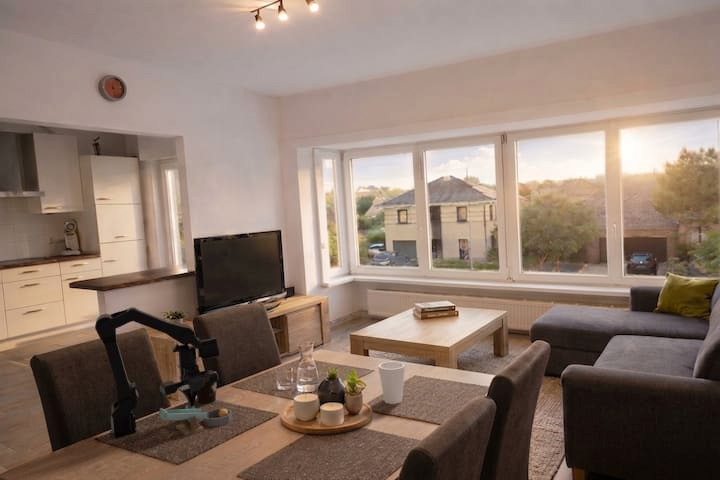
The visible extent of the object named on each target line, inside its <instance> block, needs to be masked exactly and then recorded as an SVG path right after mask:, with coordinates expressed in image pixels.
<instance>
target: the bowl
mask: <svg viewBox="0 0 720 480" xmlns="http://www.w3.org/2000/svg"><path fill="white" fill-rule="evenodd" d="M221 409H222V408H215V409H212V410H208V411H206V413H207V417H206V419H202V420H203V424H204V425H206V426H207V427H221V426H223V425H226V424H229V423H230V422H231V421H232V420H233V411H232V410H231V409H229V408H225V409H226V410H227V411H228V415H227V416H224V417H221V418H220V417H219V414H218V413H219V411H220V410H221Z"/></svg>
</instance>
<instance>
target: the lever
mask: <svg viewBox="0 0 720 480" xmlns="http://www.w3.org/2000/svg"><path fill="white" fill-rule="evenodd" d="M158 413H159V419H162V420H163V421H178V420H180V421H183V420H184V419H189V420H190V417H193V416H195V417H196V420H203V419H206V417H207V412H203V409H202V408H196V407H195V405H194V406H192V407H191V406H190V405H185V408H183V409H182V408H178V409H177V408H176V409H174V408H173V409H164V408H163V407H159V412H158Z"/></svg>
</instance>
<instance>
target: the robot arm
mask: <svg viewBox="0 0 720 480" xmlns="http://www.w3.org/2000/svg"><path fill="white" fill-rule="evenodd" d="M131 322H132V323H133V322H134V323H136V324H139V325H141V326H142V325H143V326H145V327H148V328H150V329H152V330H155V331H158V332H160V333H163V334H166V335H167V336H169V337H170V338H172V339H173V340H174V341H176V342H178V343H180V344H181V345H180V344H178V343H176V342H175V344H174V346H173V347H172V348H171V350H172V353H178V365H177V366H178V369H179V375H180V376H179V380H180V381H178V382H174V381H173V380H169V381H164V382H161V384H160V385H159V391H160V393H162V394H163V395H164V396H168V395H172V394H176V392H177V391H179V392H181V393H183V395H184V397H185V398H186V400H187V402H188V404H189V406H191V407H192V406H195V402H196V399H197V392H198V390H199V389H200V388H202V387H204V383H205V382H207V381H209V382H210V383H212V382H216V383H217V382H218V381H219V374H218V373H217V371H214V370H212V369H210V370H208V369H207V370H200V366H199V364H198V361H197V358H200V359H201V360H202V361H204V360H208V359H215V358H220V350H219V349H220V348H219V346H218V342H217V338H216V337H211V338H208V339H202V340H201V339H200V338H199V337H198V336H196V332H195V330H194V329H193V327H192V326H191V325H188V324H186V323H185V324H184V323H180V322H173V321H169V320H166V319H164V318H162V317H161V318H160V317H158V316H156V315H152V314H150V313H148V312H146V311H143V310H139V308H137V307H133V306H132V307H129V308H126V309H124V310H119V311H117V312H114V313H104V314H101V315H99V316H98V317H97V319H96V320H95V324H94V325H95V326H94V328H95V329H94V330H95V332H97V335H98V337H99V339H100V340H101V342H102V344H103V345H104V347H105V348H104V349H105V351H106V354H107V358H108V361H109V364H110V369H111V371H112V372H111V373H112V375H113V379H114V381H115V384H116V398H117V400H116V401H115V402H113V404H112V405H111V415H110V424H111V425H110V426H111V430H110V434H111V435H112V436H113V437H114V438H115V439H118V438H121V437H124V436H127V435H131V434H134V433H137V430H136V428H137V422H136V415H134V412H133V410H134V409H135V408H136V407H137V405H138V400H139V399H140V397H139V392H138V390H137V388H136V382H135V381H133V382H130V380H129V377H128V375H127V371H126V368H125V365H124V361H123V358H122V354H121V351H120V346H119V344H118V339H117V329H119V328H121V327H123V326H125V325H126V324H129V323H131Z"/></svg>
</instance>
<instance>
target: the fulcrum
mask: <svg viewBox="0 0 720 480" xmlns="http://www.w3.org/2000/svg"><path fill="white" fill-rule="evenodd" d="M175 427H176V430H175V431H172V432H170V430H168V429H167V428H161V429H160V435H159V436H157V438H158V439H159V441H162V440H164V441H167V440H170V439H171V438H172V437H175V436H178V435H182V434H183V436H184V437H189V436H191V435H192V436H193V435H195V434H199V433H201V432H204V430H205V427H203V426H202V425H201V424H200V423H198V422H197V419H196V417H195V416H193V417H190V419H184V420H182V423H180V424H178V425H177V424H176V426H175Z"/></svg>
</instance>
